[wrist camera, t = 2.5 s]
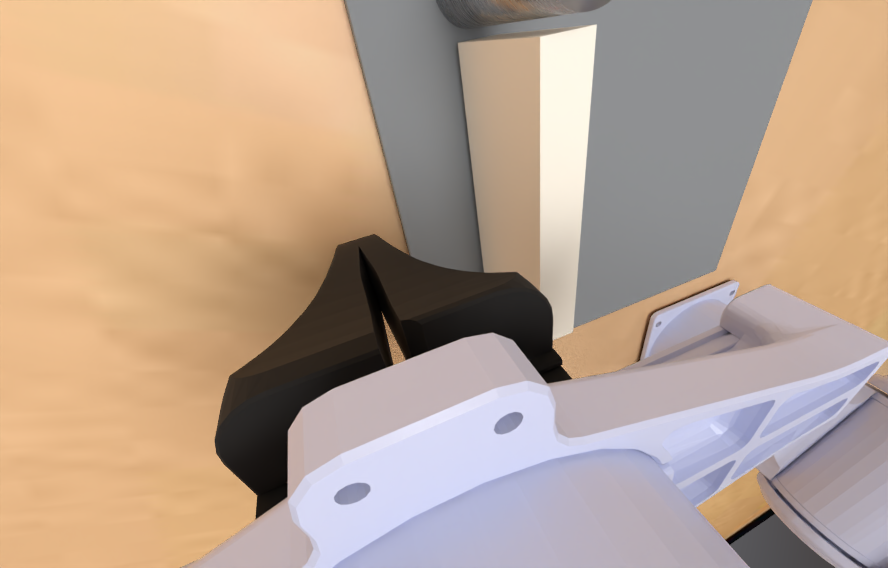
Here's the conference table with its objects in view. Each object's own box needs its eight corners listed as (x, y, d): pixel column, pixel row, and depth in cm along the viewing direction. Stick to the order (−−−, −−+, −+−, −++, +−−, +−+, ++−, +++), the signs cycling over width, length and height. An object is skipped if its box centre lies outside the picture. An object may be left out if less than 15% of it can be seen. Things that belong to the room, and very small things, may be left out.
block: (516, 288, 19) (576, 352, 15) (482, 301, 18) (534, 369, 14) (502, 33, 12) (606, 22, 8) (449, 44, 12) (530, 38, 8)
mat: (710, 267, 25) (715, 270, 25) (440, 376, 22) (443, 381, 21) (855, -154, 14) (869, -159, 13) (322, -85, 10) (323, -89, 9)
